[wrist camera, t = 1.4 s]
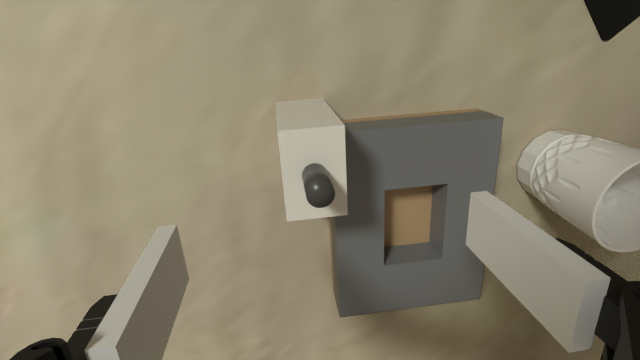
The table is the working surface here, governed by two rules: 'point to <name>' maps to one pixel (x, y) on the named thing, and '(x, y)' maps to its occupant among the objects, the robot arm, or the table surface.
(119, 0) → the table surface
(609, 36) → the table lamp
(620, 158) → the white cup
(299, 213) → the plug
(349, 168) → the socket box
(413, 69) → the table surface
